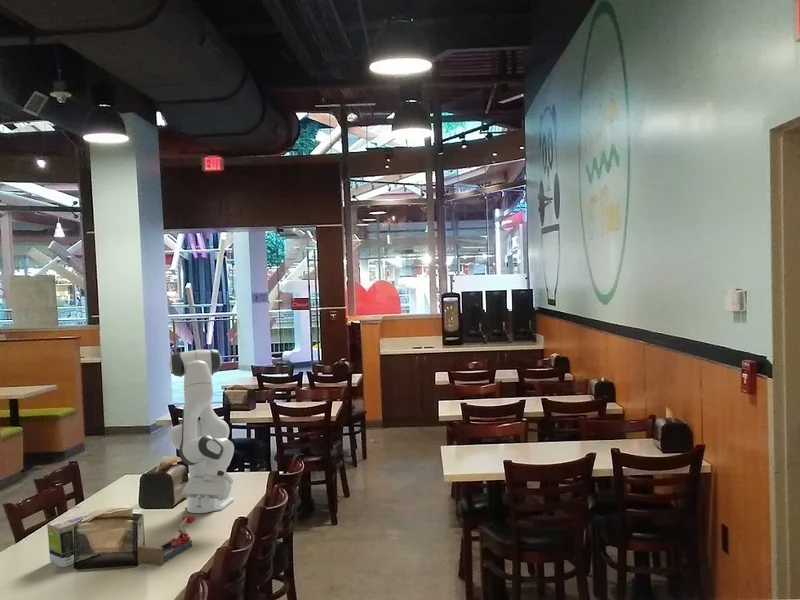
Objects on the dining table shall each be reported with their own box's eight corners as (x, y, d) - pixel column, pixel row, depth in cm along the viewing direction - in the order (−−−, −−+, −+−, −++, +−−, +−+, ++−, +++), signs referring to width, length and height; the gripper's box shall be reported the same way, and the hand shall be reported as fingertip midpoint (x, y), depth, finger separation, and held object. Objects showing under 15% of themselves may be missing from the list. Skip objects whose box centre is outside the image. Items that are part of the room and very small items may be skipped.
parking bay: (172, 544, 277) (171, 529, 277) (193, 546, 273) (193, 531, 273) (138, 563, 259) (137, 546, 259) (161, 565, 256) (160, 549, 256)
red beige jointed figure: (169, 552, 269) (168, 526, 269) (187, 539, 282) (186, 514, 282) (178, 552, 268) (176, 527, 268) (195, 539, 282) (194, 514, 281)
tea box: (88, 549, 276) (86, 511, 275) (102, 555, 269) (99, 516, 269) (49, 562, 264) (46, 523, 264) (62, 568, 258) (59, 527, 257)
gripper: (187, 471, 296) (173, 501, 287) (229, 472, 288) (216, 504, 279) (195, 479, 300) (181, 509, 291) (236, 480, 293) (224, 512, 283)
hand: (199, 506), depth 285 cm, fingers closed
